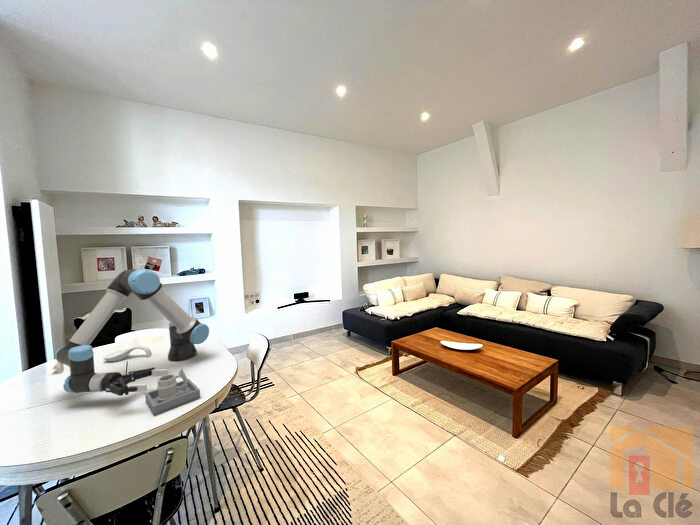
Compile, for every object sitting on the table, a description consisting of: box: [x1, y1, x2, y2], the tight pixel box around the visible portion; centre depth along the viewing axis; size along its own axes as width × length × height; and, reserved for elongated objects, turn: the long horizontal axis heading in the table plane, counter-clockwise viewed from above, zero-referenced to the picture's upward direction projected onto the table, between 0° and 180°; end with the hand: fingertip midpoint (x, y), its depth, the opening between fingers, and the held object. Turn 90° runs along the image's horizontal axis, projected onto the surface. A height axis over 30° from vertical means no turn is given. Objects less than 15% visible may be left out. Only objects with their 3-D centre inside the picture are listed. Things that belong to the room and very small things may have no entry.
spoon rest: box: [103, 345, 153, 363], centre depth 170 cm, size 24×12×7 cm, turn 104°
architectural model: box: [52, 360, 65, 375], centre depth 154 cm, size 3×7×7 cm, turn 38°
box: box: [144, 378, 201, 417], centre depth 122 cm, size 17×15×4 cm
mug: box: [156, 367, 189, 403], centre depth 122 cm, size 8×12×12 cm, turn 137°
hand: (157, 379), depth 121 cm, fingers open, 13 cm apart
